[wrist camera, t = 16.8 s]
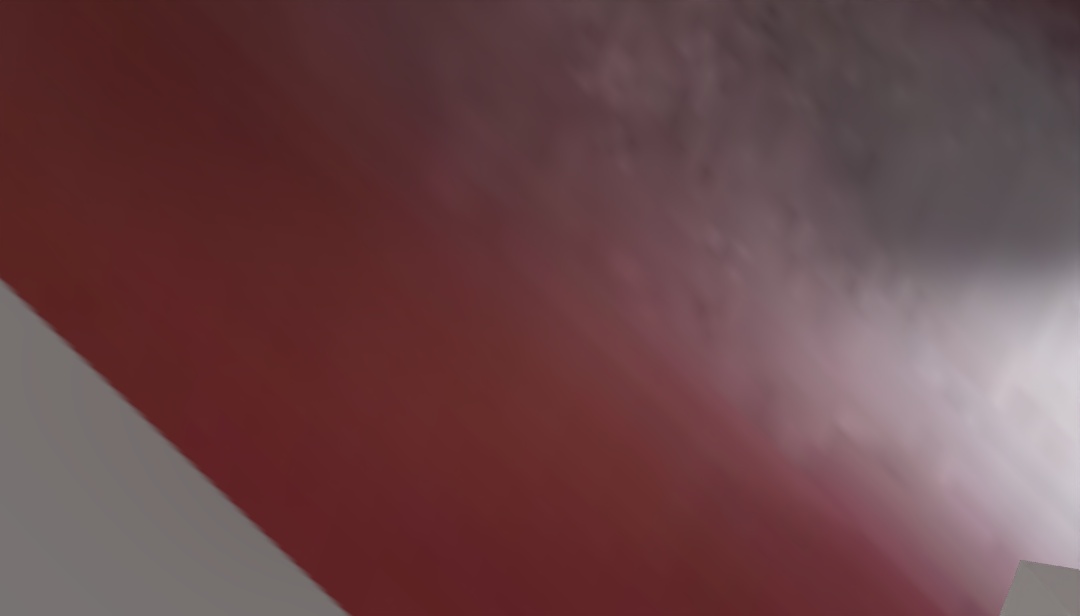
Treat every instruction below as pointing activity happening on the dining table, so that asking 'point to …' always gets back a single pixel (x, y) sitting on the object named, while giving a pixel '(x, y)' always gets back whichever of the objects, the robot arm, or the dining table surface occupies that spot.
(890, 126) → the dining table surface
